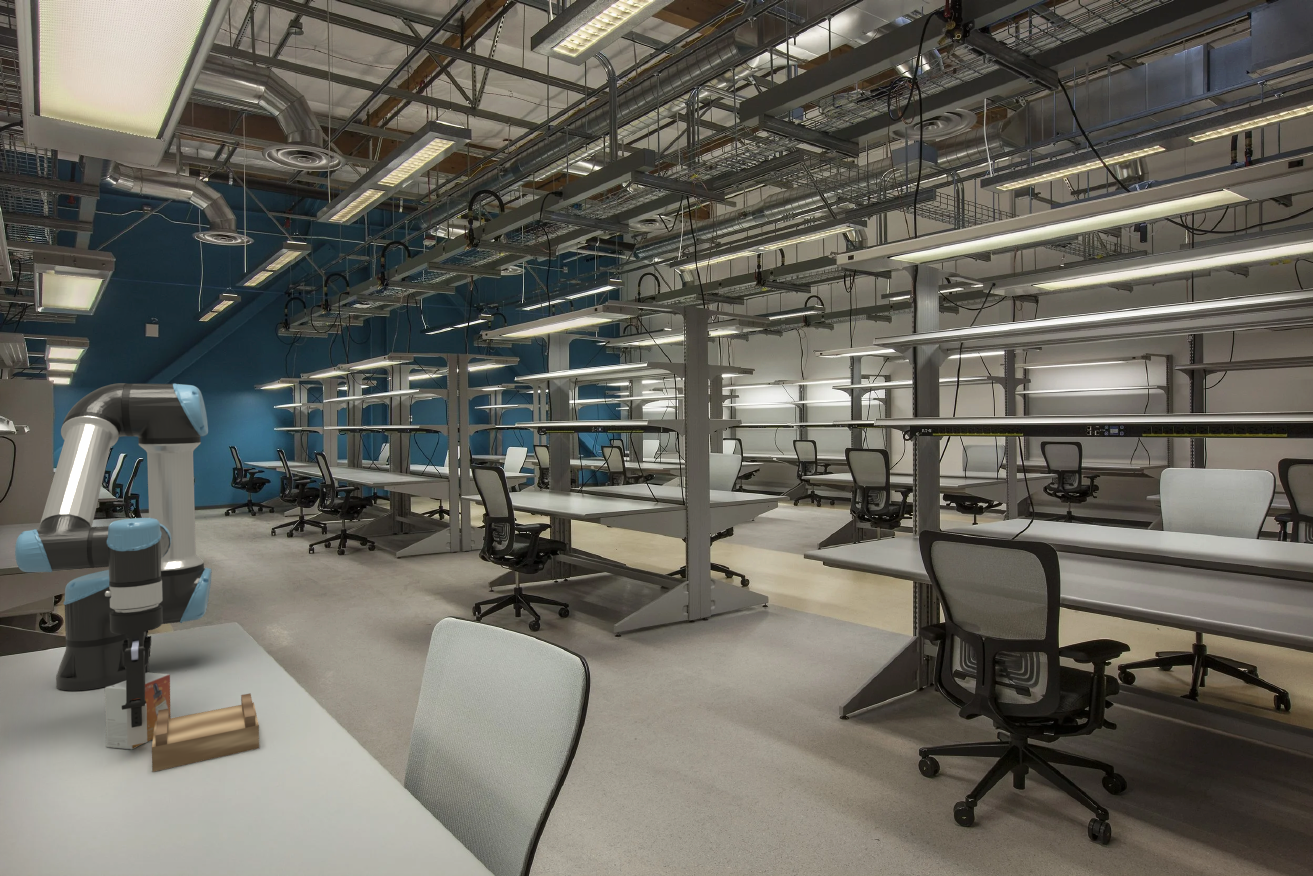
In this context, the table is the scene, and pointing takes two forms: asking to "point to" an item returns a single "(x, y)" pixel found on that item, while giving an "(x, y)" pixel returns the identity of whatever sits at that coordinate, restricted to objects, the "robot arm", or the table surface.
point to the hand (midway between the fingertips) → (139, 732)
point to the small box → (117, 718)
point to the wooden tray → (204, 735)
